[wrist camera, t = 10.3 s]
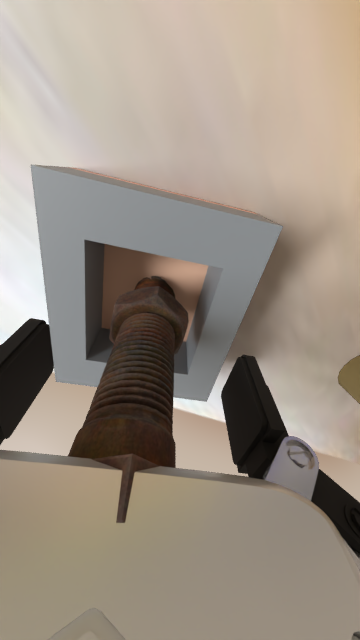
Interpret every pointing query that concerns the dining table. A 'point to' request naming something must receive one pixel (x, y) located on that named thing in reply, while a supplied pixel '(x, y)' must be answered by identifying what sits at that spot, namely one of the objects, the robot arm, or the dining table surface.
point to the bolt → (136, 387)
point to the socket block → (143, 268)
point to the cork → (351, 378)
